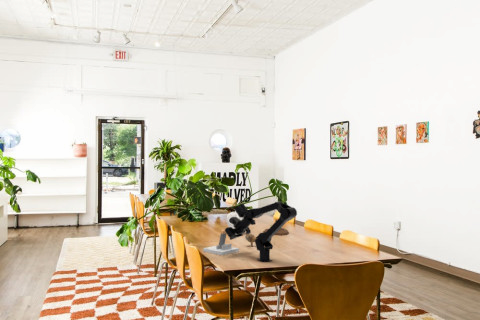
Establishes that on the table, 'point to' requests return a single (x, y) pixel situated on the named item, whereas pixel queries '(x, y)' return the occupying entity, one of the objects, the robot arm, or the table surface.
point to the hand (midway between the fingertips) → (230, 239)
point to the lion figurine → (250, 239)
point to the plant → (280, 231)
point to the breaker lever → (222, 238)
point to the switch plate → (221, 249)
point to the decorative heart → (230, 217)
